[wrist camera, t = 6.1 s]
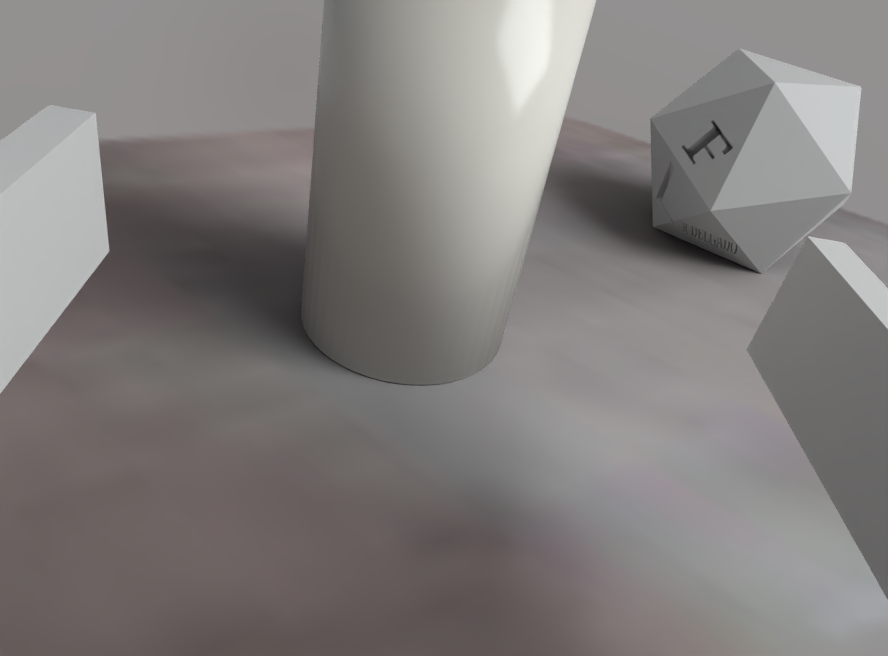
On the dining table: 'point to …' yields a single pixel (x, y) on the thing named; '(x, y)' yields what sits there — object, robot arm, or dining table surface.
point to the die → (753, 158)
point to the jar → (430, 175)
